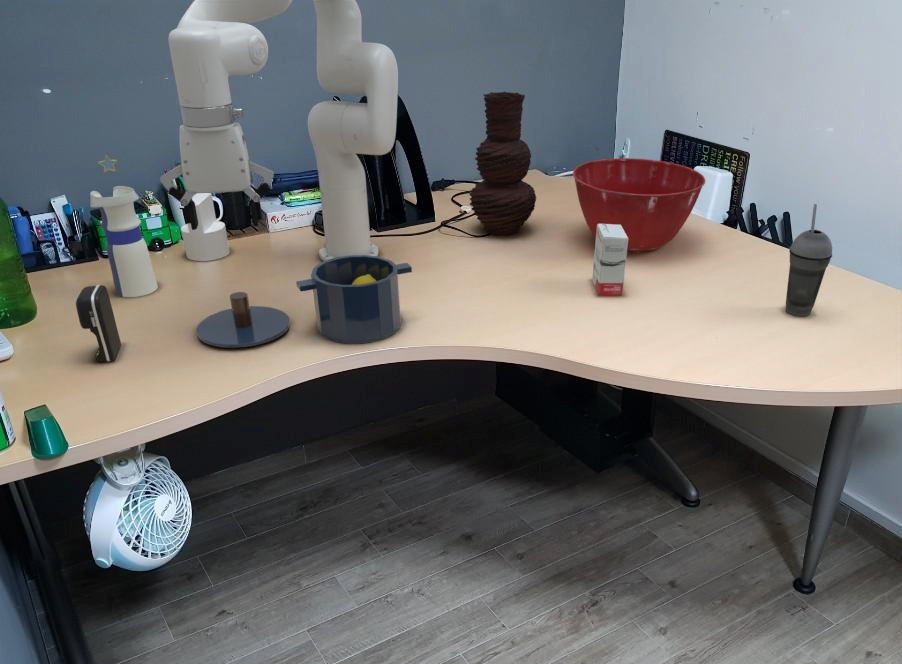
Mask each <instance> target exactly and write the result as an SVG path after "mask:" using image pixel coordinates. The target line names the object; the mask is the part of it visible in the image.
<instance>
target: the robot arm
mask: <svg viewBox="0 0 902 664" xmlns="http://www.w3.org/2000/svg"><path fill="white" fill-rule="evenodd" d="M311 1H312V4H313V6H314V11H315V15H316V78H317V81H318V84H319V86H320V87H321V88H322V89H323V90H324V91H325V92H329V93H333V94H338V95H349V96H350V95H352V96H363V97H364V96H365V97H366V100H367V101H366V102H355V101H344V100H325V101H321V102H317V103H316V104H315V105H314V106H313V107H312V108H311V109H310V111H309V113H308V116H307V130H308V135H309V139H310V142H311V145H312V149H313V152H314V156H315V157H314V158H315V161H316V168H317V175H318V185H319V195H320V204H321V212H322V222H323V232H324V241H325V245H324V246H322V247H321V248H320V249H319V252H318V253H319V254H318V255H319V259H320V260H322V262H324V261H327V260H329V259H332V258H337V257H343V256H349V255H369V256H377V257H379V247H378V246H377V245H376V244H374V243H372V242H371V230H370V219H369V218H370V217H369V216H370V215H369V204H368V191H367V190H368V189H367V177H366V172H365V168H364V166H363V163H362V161H361V160H360V158H359V156H358V155H369V156H383V155H387V154H388V153H390V151H391V150H392V149H393V147H394V144H395V141H396V134H397V123H398V122H397V121H398V120H397V119H398V98H399V97H398V94H399V69H398V63H397V59H396V55H395V54H394V52H393V50H392V49H391V48H389V47H388V46H387V45H386V44H382V43H379V42H367V41H365V42H364V41H363V39H362V38H363V36H362V34H363V33H362V32H363V28H362V23H363V21H362V20H363V19H362V13H361V9H360V7H359V5H358V2H357V0H311ZM292 2H293V0H193V1H192V3H190V5H189V7H188V8H187V10H186V11H185V13H184V14H183V16H182V17H181V19H180V20H179V22H178V24H177V26H176V28H175V29H172V30H171V31H170V32H169V34H168V47H169V53H170V58H171V64H172V69H173V75H174V80H175V81H174V82H175V86H176V91H177V96H178V102H179V108H180V113H181V119H182V124H181V125H180V126H179V139H178V140H179V155H180V164H179V165H177V166H175V167H174V168H172V169H170V170H169V171H166V172H165V173H164V174H162V175H161V176H160V178H159V181H160V183H161V184H162V185H163V187H164V188H165V189H166V190H167V192H168V193H169V195H170V196H171V197H173V199H175V200H176V201H178V202H179V203H180V205H182V206H183V209H184V215H185V220H186V221H185V222H186V224H189V223H191V228H192V230H196V229H197V227H198V218H197V213H196V207H195V202H193V200H192V197H194V196H195V195H196V194H197V193H211V194H212V193H213V194H214V193H216V194H217V193H218V194H219V193H236V192H244V194H246V196H248V197H249V198H250V202H249V205H250V213H251V219H252V226H254V227H259V222H260V221H262V220H263V212H262V206H261V199H262V198H263V197H264V196H265V195H266V194H267V192H268V191H269V189H270V187H271V184H272V182H273V179H274V177H275V172H274V171H273V170H272V169H269V168H267V167H265V166H263V165H261V164H258V163H256V162H253V161H252V160H250V156H249V151H248V146H247V143H246V139H245V135H244V132H243V129H242V126H241V123H239V122H236V119H238V118H239V117H240V118H243V117H244V111H243V107H237V106H235V104H234V105H233V102H232V97H231V90H230V82H229V77H234V76H242V77H243V76H251V75H255V74H257V73H258V72H260V71H261V70H262V69H263V68H264V67H265V65H266V64H267V61H268V58H269V45H268V41H267V39H266V37H265V36H264V34H263V33H262V32H261V30H259V29H258V28H257V27H256V26H254V25H252V23H253V24H254V23H258V22H261V21H265V20H268V19H270V18H273V17H276V16H278V15H281V14H283V13H285V11H287V10H288V8H289V7H290V6H291V4H292ZM252 173H254V174H256V175H258V176H261V177H262V178H263V180H262V182H261V183H260V184H259V186H258V187H256V186H255V185H254V184H253V183H252V181H253V174H252ZM180 176H182V179H183V184H184V187H185V189H186V190H185V191H183V190H182V189H181V188H179V187H178V186H177V185H175V183H174V180H175V179H177V178H178V177H180Z"/></svg>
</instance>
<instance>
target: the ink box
mask: <svg viewBox="0 0 902 664" xmlns="http://www.w3.org/2000/svg"><path fill="white" fill-rule="evenodd" d="M594 242H595V244H594V254H593V267H592V276H591V278H592V283H593V286H594V287H595V291H596V294H597V296H601V297H602V296H605V297H606V296H609V297H610V296H612V297H613V296H623V291H624V282H625V273H626V272H625V271H626V263H627V255H628V252H627V246H628V237H627V235H626V233H625V232H624V230H623V228H622V226H621V225H614V224H597V231H596V238H595V241H594Z"/></svg>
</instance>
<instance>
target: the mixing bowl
mask: <svg viewBox="0 0 902 664" xmlns="http://www.w3.org/2000/svg"><path fill="white" fill-rule="evenodd" d="M572 176H573V178H574V182H575V188H576V194H577V199H578V202H579V205H580V209H581V212H582V215H583V217H584V220H585V223H586V225H587V227H588V228H589V232H590V233H591V235H592V236H593V237H594V238H595V239H596V231H597V224H614V225H621V226H622V228H623V230H624V232H625V233H626V235H627V237H628V246H627V253H634V254H635V253H648V252H653V251H656V250H658V249H660V248H662V247H664V246H665V245H667V244H669V243H670V242H672V241H673V240H674V238H676V236H677V235H678V233H679V232H680V231H681V230H682V228H683V226H684V225H685V223H686V222H687V220H688V219H689V217H690V215H691V213H692V211H693V209H694V208H695V206H696V203H697V201H698V198H699V196H700V193H701V191H702V189H703V186H705V184H706V177H705V176H704V175H703V174H702V173H700V171H697V170H696V169H693V168H691V167H688V166H685V165H682V164H679V163H674V162H670V161H663V160H657V159H647V158H635V157H634V158H633V157H630V158H629V157H628V158H626V157H619V158H604V159H597V160H591V161H587V162H584V163H582V164H579V165H578V166H576V167H575V168H574V169H573V170H572Z"/></svg>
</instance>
